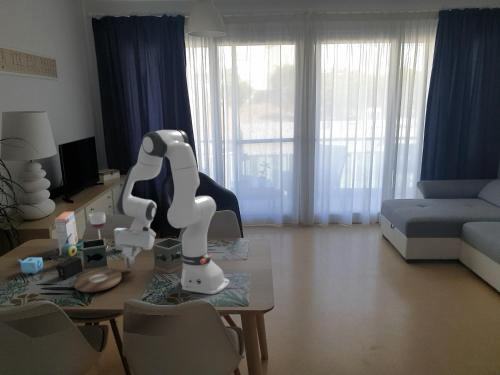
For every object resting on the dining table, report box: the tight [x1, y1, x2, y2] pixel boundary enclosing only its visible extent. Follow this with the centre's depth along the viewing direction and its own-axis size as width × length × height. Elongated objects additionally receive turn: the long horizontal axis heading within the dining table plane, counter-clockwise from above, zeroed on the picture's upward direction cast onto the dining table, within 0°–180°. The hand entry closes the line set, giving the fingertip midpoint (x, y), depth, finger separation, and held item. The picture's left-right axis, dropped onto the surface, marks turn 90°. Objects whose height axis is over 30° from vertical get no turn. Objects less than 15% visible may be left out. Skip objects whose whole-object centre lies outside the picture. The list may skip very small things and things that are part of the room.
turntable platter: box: [73, 268, 123, 293], centre depth 169 cm, size 20×20×2 cm
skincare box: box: [113, 227, 128, 251], centre depth 209 cm, size 6×4×12 cm
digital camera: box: [55, 256, 83, 281], centre depth 179 cm, size 10×5×7 cm, turn 156°
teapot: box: [17, 256, 44, 275], centre depth 182 cm, size 12×6×8 cm, turn 89°
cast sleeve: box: [123, 245, 136, 269], centre depth 181 cm, size 4×4×10 cm
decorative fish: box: [58, 234, 84, 260], centre depth 193 cm, size 13×12×6 cm
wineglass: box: [88, 211, 109, 248], centre depth 211 cm, size 8×9×20 cm
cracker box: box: [54, 211, 79, 254], centre depth 208 cm, size 14×6×21 cm, turn 6°
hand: (128, 255), depth 180 cm, fingers closed on cast sleeve, 4 cm apart
